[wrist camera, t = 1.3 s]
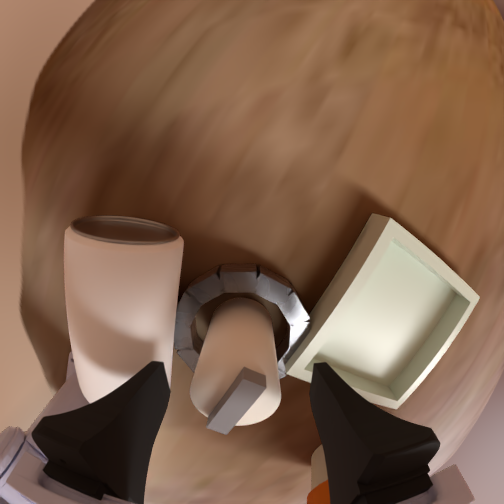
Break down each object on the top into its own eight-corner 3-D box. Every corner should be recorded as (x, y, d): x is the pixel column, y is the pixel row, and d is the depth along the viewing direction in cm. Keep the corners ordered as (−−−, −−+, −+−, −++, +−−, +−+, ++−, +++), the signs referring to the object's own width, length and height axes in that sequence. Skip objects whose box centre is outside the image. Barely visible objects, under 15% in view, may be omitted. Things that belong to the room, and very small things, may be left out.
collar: (263, 388, 19) (264, 403, 17) (161, 341, 18) (154, 354, 16) (329, 301, 17) (335, 312, 15) (212, 239, 16) (208, 244, 14)
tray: (386, 391, 19) (396, 409, 17) (282, 351, 18) (286, 373, 15) (461, 286, 17) (479, 297, 14) (372, 212, 16) (390, 217, 13)
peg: (253, 358, 18) (253, 445, 10) (201, 334, 18) (173, 417, 10) (283, 314, 17) (301, 396, 10) (227, 286, 17) (209, 359, 9)
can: (86, 210, 14) (90, 363, 17) (43, 232, 9) (76, 423, 11) (182, 222, 17) (167, 372, 19) (190, 250, 11) (174, 435, 13)
